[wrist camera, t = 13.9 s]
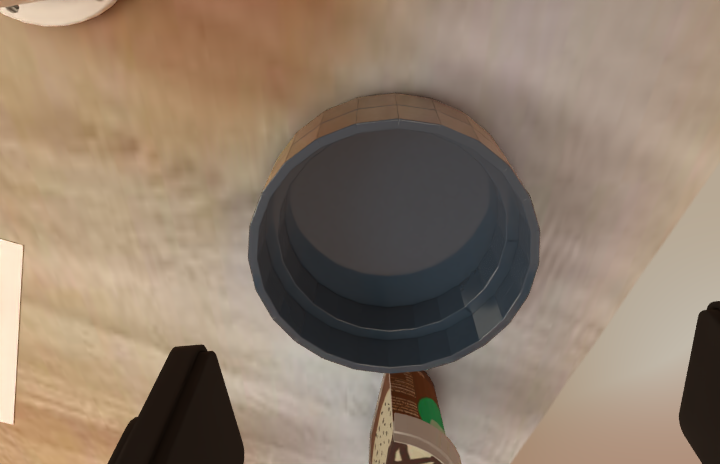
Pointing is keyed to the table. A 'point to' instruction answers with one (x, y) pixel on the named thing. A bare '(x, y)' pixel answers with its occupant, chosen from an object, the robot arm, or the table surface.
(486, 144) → the bowl
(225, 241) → the table surface
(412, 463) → the food container
